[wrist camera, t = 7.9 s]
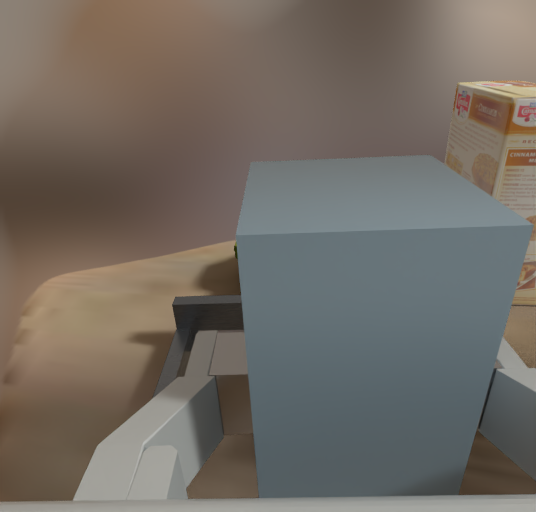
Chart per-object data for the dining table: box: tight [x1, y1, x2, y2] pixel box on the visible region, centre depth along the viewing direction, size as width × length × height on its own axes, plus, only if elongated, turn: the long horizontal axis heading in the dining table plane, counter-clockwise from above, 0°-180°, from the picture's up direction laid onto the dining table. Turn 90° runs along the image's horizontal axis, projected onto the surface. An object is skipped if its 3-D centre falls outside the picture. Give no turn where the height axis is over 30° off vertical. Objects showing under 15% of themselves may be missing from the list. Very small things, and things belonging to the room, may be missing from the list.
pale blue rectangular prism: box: [236, 155, 534, 498], centre depth 9 cm, size 4×4×10 cm
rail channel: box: [152, 295, 244, 399], centre depth 30 cm, size 9×13×5 cm
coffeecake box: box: [444, 81, 536, 306], centre depth 42 cm, size 15×7×20 cm, turn 173°
